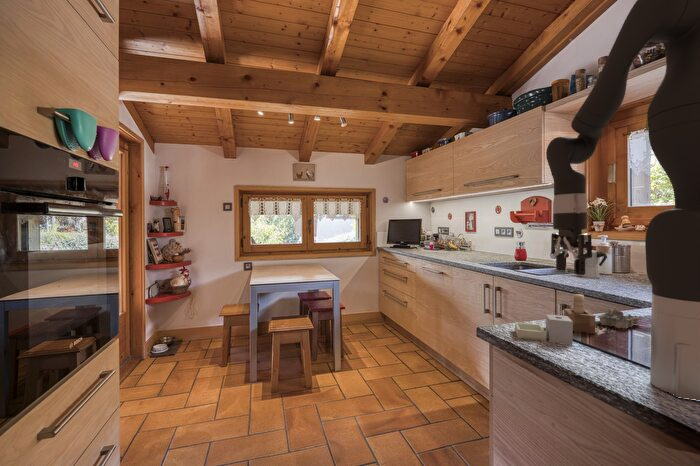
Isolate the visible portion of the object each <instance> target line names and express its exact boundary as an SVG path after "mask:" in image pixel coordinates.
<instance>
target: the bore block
mask: <svg viewBox="0 0 700 466" xmlns="http://www.w3.org/2000/svg"><path fill="white" fill-rule="evenodd" d="M563 310H564V311H563V316H568V317H569V318H570V319H571V320H572V321H573V331H574V333H581V332H588V333H587V334H591V333H595V334H596V315H595V314H593V313H592V312H591V311H590V310H586V309H584V314H577V313H573V310H574V308H572V309H571V308H564V309H563Z"/></svg>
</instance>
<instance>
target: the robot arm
mask: <svg viewBox="0 0 700 466" xmlns="http://www.w3.org/2000/svg"><path fill="white" fill-rule="evenodd" d="M649 42H650V43H651V42H653V43H654V42H655V43H662V45H663V47H664V52H665V63H666V64H665V65H666V67H665V73H664V76H663V79H662V81H661V82H660V84H659V86H658V88H657V89H656V91H655V93H654V95H653V97H652V99H651V100H650V102H649V105H648V107H647V113H646V119H647V131H648V141H649V145H650V148H651V150H652V152H653V154H654V157H655V158H656V160H657V162H658V163H659V165H660V166H661V168H662V170H663V171H664V172H665V175H666V176H667V177H668V179H669V181H670V184H671V186H672V190H673V195H674V196H673V197H674V208H672V209H667V210H663V211H660V212H659V213H657V214H655V215H654V217H652V218H651V220H650V221H649V223H648V225H647V228H646V230H645V232H646V233H645V238H644V239H645V242H644V243H645V249H644V250H645V269H646V271H645V272H646V277H647V278H648V280H649V282H650V284H651V314H650V315H651V316H650V321H651V323H650V325H651V326H650V361H649V362H650V367H649V368H650V369H649V371H650V373H649V374H650V376H649V377H650V378H649V381H651V382H650V384H652V385H653V386H654V385H655V386H654V387H655V388H657V387H658V388H657V389H659V388H660V389H659V390H661V389H662V390H661V391H663V390H664V391H663V392H665V391H666V392H665V393H667V392H669V393H668V394H670V393H672V394H674V395H675V396H677V397H681V398H689V399H696V400H700V0H636V1H635V3H634V4H633V6H631V9H630V11H629V13H628V14H627V16H626V18H625V20H624V21H623V23H622V26H621V27H620V30H619V32H618V34H617V36H616V39H615V40H614V43H613V45H612V47H611V49H610V52H609V54H608V56H607V58H606V60H605V62H604V65H603V67H602V68H601V72H600V73H599V75H598V78H597V80H596V81H595V84H594V85H593V87H592V89H591V90H590V92H589V94H588V95H587V97H586V99H585V100H584V102H583V103H582V105H581V107H580V108H579V109H578V111H577V113H576V114H575V116H574V117H573V119H572V120H571V124H570V125H571V129H572V130H573V131H574V132H575V133H576V134H577V133H578V135H577V136H557V137H554V138H552V139H551V141H550V142H549V143H548V145H547V148H546V152H545V153H546V154H545V156H546V161H547V164H548V167H549V169H550V173H551V177H552V179H553V202H552V228H553V230H556V231H557V230H558V233H557V232H556V233H555V232H554V233H551V235H550V236H551V237H550V239H551V242H550V243H551V245H550V246H551V247H550V253H551V254H552V255H553V256H554V257H555V269H556V271H566V270H567V263H566V262H567V257H566V256H567V253H568V252H569V253H571V254H572V256H573V258H574V261H573V264H574V265H573V267H574V268H573V269H574V270H573V271H574V272H573V273H574V274H575V275H576V276H581V275H584V274H585V260H587V258H592V246H593V245H592V234H591V233H583V231H582V230H587V228H588V200H587V196H586V192H587V183H586V175H585V174H584V173H583V172H581V171H577V170H575V169H573V168H572V165H579V164H583V163H585V162H587V161H588V160H590V158H591V157H592V156H593V154H594V153H595V151H596V149H597V146H598V143H599V141H600V138H601V136H602V133H603V131H604V128H605V127H606V126H607V125H608V123H609V122H611V120H612V118H613V117H614V116H615V115H616V114H617V112H618V110H619V108H620V107H621V105H622V103H623V102H624V99H625V96H626V91H627V85H628V77H629V74H630V69H631V67H632V65H633V63H634V61H635V59H636V58H637V57H638V55H639V53H641V51H642V50H643V48H644V47H646V45H647V44H648V43H649ZM586 250H587V253H585V251H586ZM672 394H671V395H672ZM674 395H673V396H674ZM675 396H674V397H675Z"/></svg>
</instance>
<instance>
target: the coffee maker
mask: <svg viewBox="0 0 700 466" xmlns="http://www.w3.org/2000/svg"><path fill="white" fill-rule="evenodd" d="M585 253H587V249H586V250H585ZM600 258H602V259H601V261H600ZM607 259H608V256H607V254H606V253H605V252H603V251H599V250H594V245H592V258H587V260H585V274H584V275H580V277H581V278H584V279H585V278H586V279H595V278H596V279H600V278H601V277H600V276H601V275H600V270H599V267H602V266H603V264H605V261H606V260H607Z"/></svg>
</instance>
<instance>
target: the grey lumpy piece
mask: <svg viewBox="0 0 700 466" xmlns="http://www.w3.org/2000/svg"><path fill="white" fill-rule="evenodd" d="M597 318H599V324H600V323H602V324H603V325H614V326H615V327H619V328H620V327H624V328H628V329H629V327H628V326H633V324H638V325H639V318H640V316H637V315H632V314H629V313H628V314H627V315H624V313H623V311H621V310H617V309H616V307H613V308H610V309H608V311H606V312H604V313H603V314H600V315H598V316H597ZM602 324H601V325H602ZM603 325H602V326H603ZM615 327H614V328H615ZM633 327H634V326H633Z"/></svg>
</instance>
